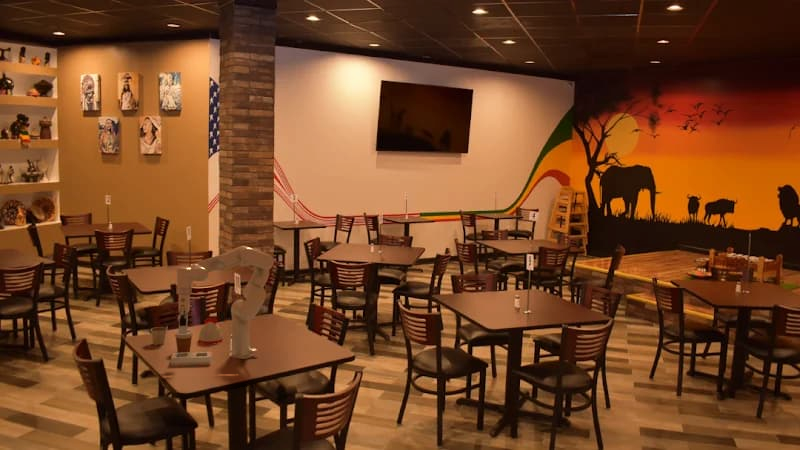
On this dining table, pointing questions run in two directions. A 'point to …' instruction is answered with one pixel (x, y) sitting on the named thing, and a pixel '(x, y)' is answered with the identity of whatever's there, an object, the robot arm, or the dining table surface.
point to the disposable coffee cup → (183, 341)
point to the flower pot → (158, 335)
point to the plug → (183, 328)
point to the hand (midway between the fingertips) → (183, 324)
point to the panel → (191, 358)
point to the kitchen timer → (210, 332)
